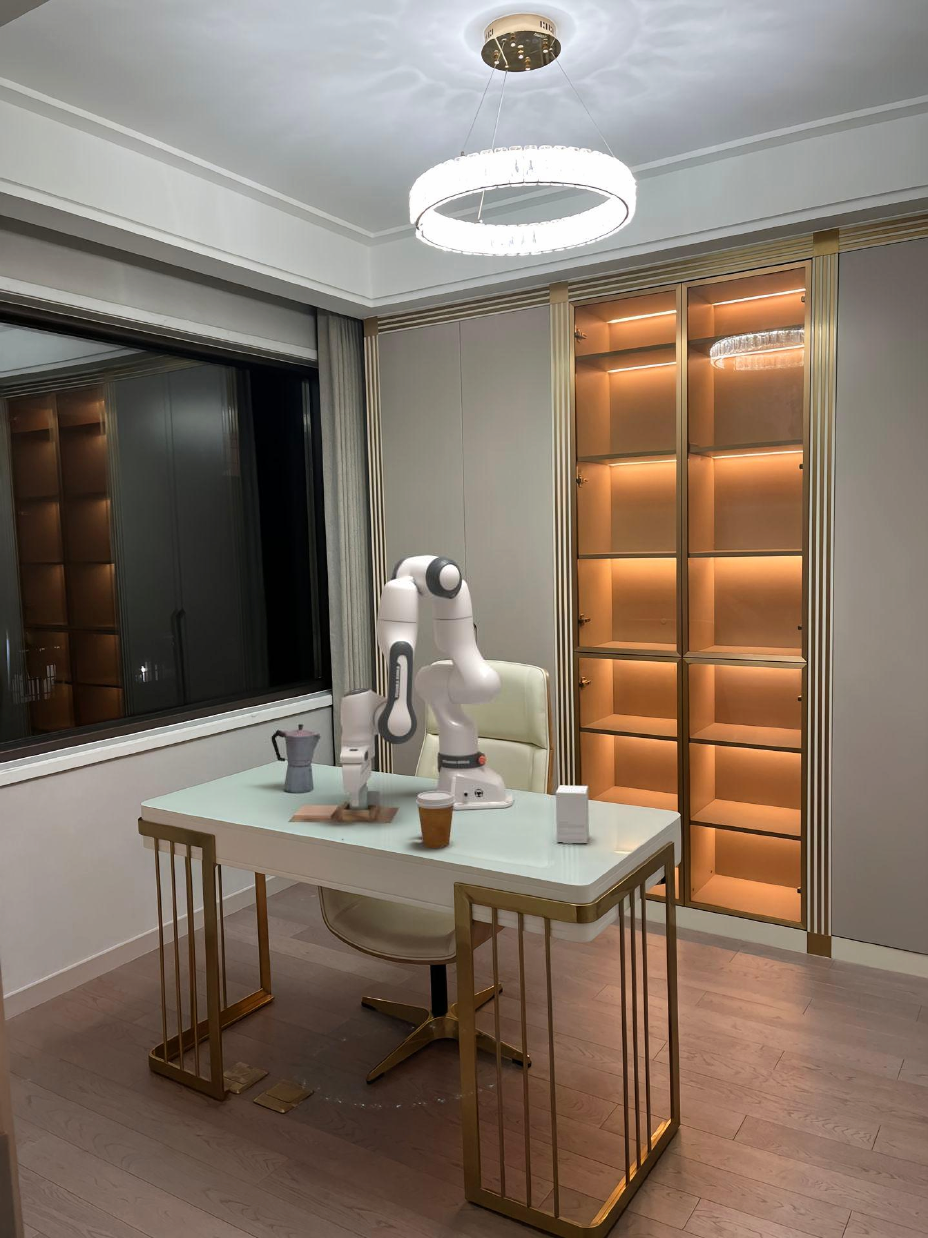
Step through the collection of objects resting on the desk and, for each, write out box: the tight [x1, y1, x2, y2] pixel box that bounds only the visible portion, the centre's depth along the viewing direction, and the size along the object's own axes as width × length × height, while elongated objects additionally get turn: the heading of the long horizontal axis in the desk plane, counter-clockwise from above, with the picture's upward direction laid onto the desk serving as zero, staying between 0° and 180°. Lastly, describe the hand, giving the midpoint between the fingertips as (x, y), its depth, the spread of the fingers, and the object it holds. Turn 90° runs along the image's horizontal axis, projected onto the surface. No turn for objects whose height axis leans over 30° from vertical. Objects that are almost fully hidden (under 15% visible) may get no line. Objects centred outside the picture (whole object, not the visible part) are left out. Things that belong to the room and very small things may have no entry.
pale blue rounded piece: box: [348, 785, 381, 810], centre depth 250 cm, size 8×5×8 cm, turn 85°
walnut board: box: [288, 801, 400, 824], centre depth 251 cm, size 27×15×4 cm, turn 85°
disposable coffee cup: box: [415, 790, 455, 849], centre depth 227 cm, size 10×10×12 cm
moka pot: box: [271, 723, 323, 794], centre depth 282 cm, size 10×15×20 cm, turn 89°
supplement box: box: [555, 784, 590, 844], centre depth 229 cm, size 7×7×13 cm
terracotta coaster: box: [293, 804, 340, 818], centre depth 253 cm, size 10×10×1 cm
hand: (358, 801), depth 249 cm, fingers open, 7 cm apart
